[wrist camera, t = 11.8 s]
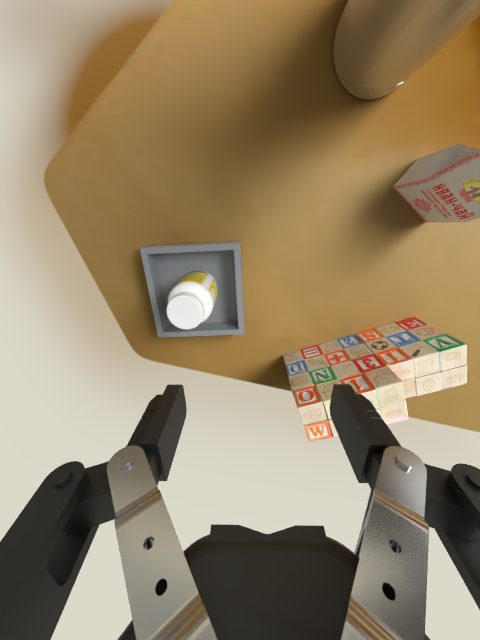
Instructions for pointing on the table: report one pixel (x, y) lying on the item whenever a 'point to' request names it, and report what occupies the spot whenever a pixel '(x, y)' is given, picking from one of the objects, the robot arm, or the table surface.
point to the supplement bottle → (192, 300)
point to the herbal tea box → (444, 185)
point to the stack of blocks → (375, 371)
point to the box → (180, 259)
